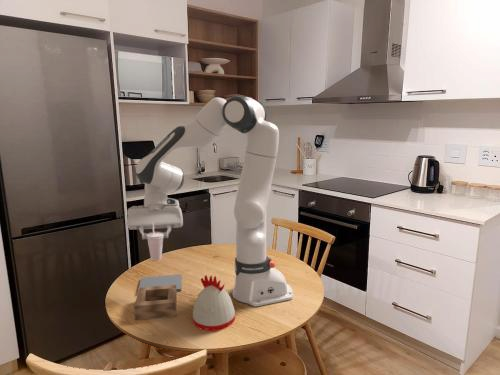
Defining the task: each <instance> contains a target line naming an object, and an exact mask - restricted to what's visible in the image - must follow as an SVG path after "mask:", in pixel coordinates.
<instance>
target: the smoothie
mask: <svg viewBox="0 0 500 375" xmlns="http://www.w3.org/2000/svg"><path fill="white" fill-rule="evenodd" d="M152 226H153V229H152V231H151V232H148V233H146V234H147V235H146V238H147V239H146V240H147V244H148V249H149V256H150V260H151V261H153V262H159V261H161V260H162V256H163V254H162V253H163V245H164V244H163V243H164V232H162V231H155V229H154V223H152Z"/></svg>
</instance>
